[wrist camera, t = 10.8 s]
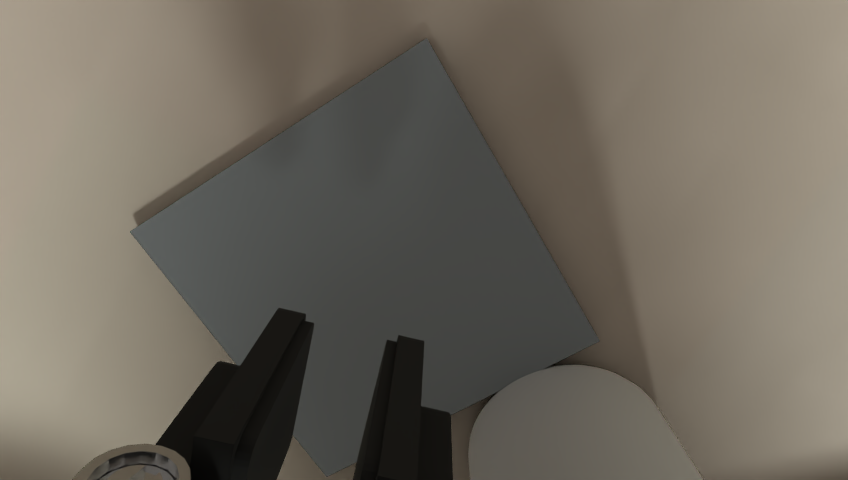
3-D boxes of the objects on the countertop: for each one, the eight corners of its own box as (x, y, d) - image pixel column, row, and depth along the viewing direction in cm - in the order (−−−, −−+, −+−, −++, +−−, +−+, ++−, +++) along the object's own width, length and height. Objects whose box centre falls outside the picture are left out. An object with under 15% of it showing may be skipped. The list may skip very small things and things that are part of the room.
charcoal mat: (596, 334, 17) (599, 341, 16) (329, 468, 18) (326, 476, 18) (427, 38, 14) (426, 38, 14) (136, 227, 16) (129, 231, 16)
